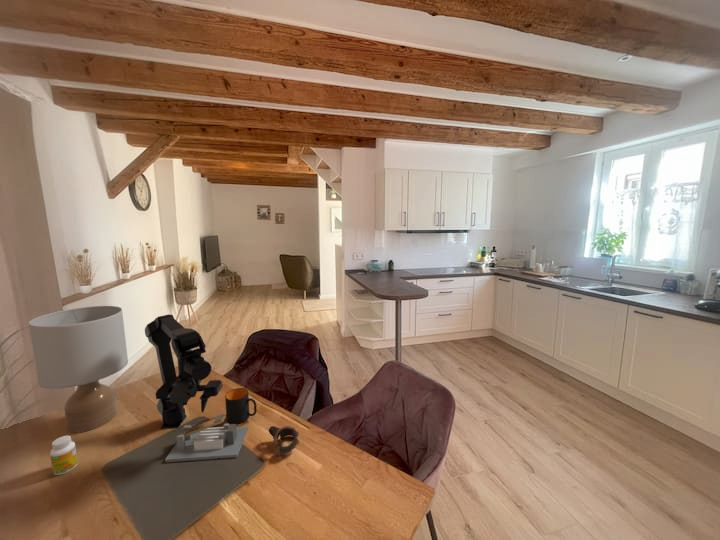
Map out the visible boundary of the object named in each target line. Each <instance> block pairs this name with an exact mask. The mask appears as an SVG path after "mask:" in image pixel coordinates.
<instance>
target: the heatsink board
mask: <svg viewBox="0 0 720 540" xmlns="http://www.w3.org/2000/svg"><path fill="white" fill-rule="evenodd" d="M191 427H192V425H191V424H189V425H187V424H186V425H184V426H183V431H184V430H185V429H189V428H191ZM248 428H249V427H248V426H243V427H242V426H240V427H237V425H236V424H229V423H224V424H223V426H216V427H215V426H214V427H210V428H207V429H204V430H202V431H199V432H196V433H194V434H191V435H189V436H186V437H185V436H184V435H181V434H177V435H176V438H175V439H176V442H175V445H174V446H173V447H172V448H171V450H170V452H169V453H168V455H167V456H166V457H165V459H164V462H165V463H174V462H175V463H177V462H188V461H203V460H218V458H220V459H230V458H231V459H232V458H238V456H239V453H240V450H241V448H242V445H243V443H244V440H245V438H246V435H247V432H248V430H249V429H248Z"/></svg>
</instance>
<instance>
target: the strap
mask: <svg viewBox="0 0 720 540" xmlns="http://www.w3.org/2000/svg"><path fill="white" fill-rule="evenodd" d="M225 419H226V414H224V413H223V414H220V415H217V416H216V417H215V418H213V419H212V418H211V419H209V420H208V421H205V422H202V423H199V424H197V425H195V426H191V428H189V429H185V430H184V429H183V431H182V432H181V434H180V435H184V436H185V437H186V436H189V435H191V434H194V433H196V432H199V431H202V430H204V429H207V428H213V427H215V426H217V425H220V424H223V423H224V421H225Z"/></svg>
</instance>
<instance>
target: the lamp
mask: <svg viewBox="0 0 720 540" xmlns="http://www.w3.org/2000/svg"><path fill="white" fill-rule="evenodd" d="M123 316H124V315H123V309H122V307H120V306H114V305H95V306H84V307H75V308H71V309H65V310H64V309H63V310H59V311H55V312H51V313H46V314H44V315H40V316H37V317H35V318H33V319H31V320H30V321H28V328H29V334H30V335H29V336H30V339H31V345H32V352H33V358H34V364H35V370H36V375H37V382H38V385H39V386H40V387H41V388H45V389H51V390H52V389H66V388H67V389H68V388H73V387H76V390H74V391H73V392H72V393H71V395H69V396H68V398H67V399H66V400H65V402H64V407H63V410H64V416H65V422H66V423H65V426H66V428H67V430H68V431H69V432H71V433H83V432H89V431H92V430H95V429H97V428H100V427H102V426H104V425H106V424H108V423H109V422H111V420H113V419H114V418H115V417H116V416H117V403H116V394H115V391H114V389H113V388H112V387H111V386H109V385H106V384H103V383H101V382H100V380H103V379H105V378H109V377H111V376H112V375H114V374H116V373H118V372H120V371H122V369H123V370H124V368H125V367H126V366H127V365H128V363H129V359H128V350H127V341H126V334H125V333H126V332H125V322H124V317H123Z"/></svg>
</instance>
